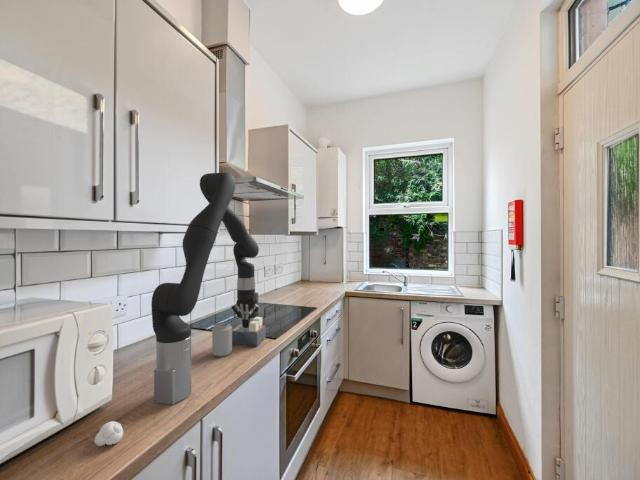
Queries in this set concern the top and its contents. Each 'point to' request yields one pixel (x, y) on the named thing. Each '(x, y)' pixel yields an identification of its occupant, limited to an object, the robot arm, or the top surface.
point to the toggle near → (253, 326)
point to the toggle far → (258, 320)
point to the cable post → (256, 303)
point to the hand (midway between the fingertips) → (246, 327)
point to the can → (222, 339)
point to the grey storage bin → (248, 336)
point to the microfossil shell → (109, 434)
